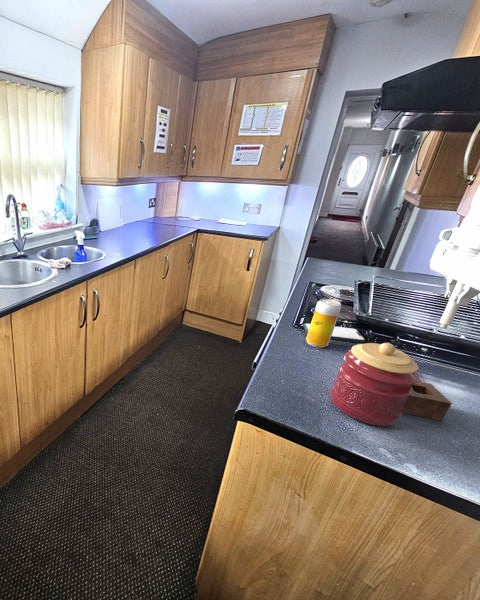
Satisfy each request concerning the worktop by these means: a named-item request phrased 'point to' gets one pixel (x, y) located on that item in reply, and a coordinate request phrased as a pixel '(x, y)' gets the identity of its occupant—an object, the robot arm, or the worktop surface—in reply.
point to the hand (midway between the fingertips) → (455, 301)
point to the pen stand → (426, 402)
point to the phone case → (343, 334)
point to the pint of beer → (323, 322)
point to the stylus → (452, 306)
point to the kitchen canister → (374, 383)
